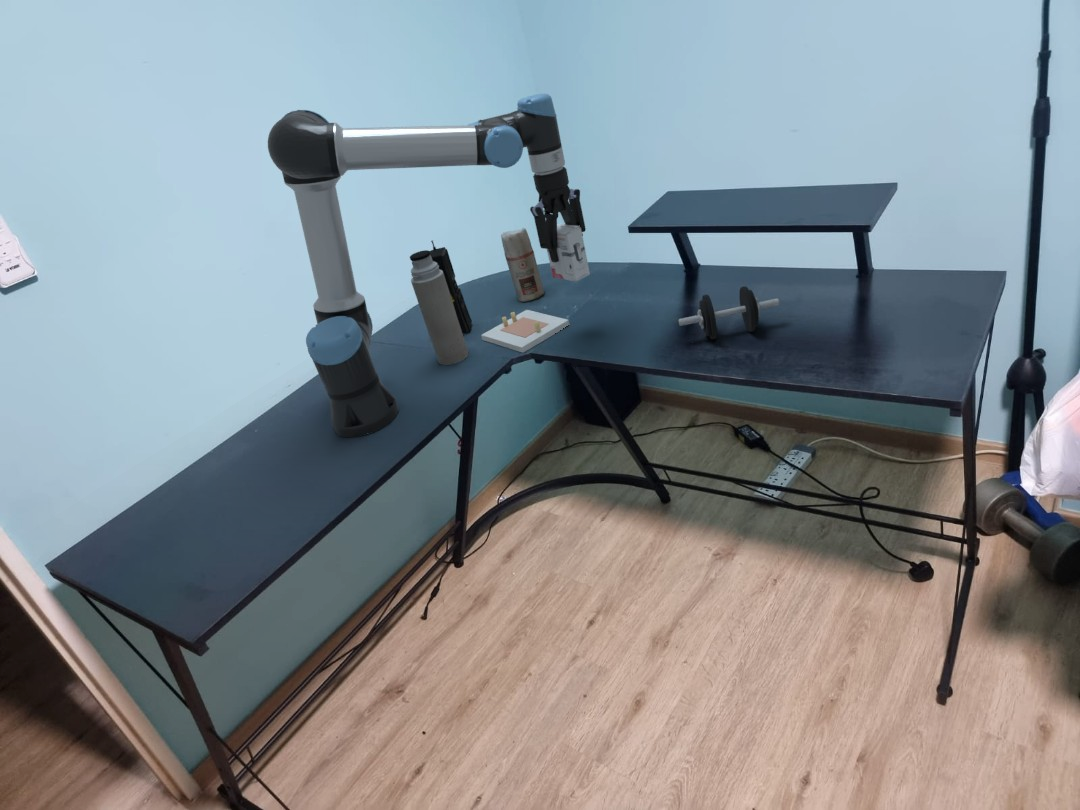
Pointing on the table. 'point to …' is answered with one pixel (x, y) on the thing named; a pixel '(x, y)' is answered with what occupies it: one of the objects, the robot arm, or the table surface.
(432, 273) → the thermos bottle
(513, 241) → the spray can
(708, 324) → the dumbbell
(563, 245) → the ink box
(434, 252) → the portable radio
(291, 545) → the table surface
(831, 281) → the table surface
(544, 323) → the pin plate
